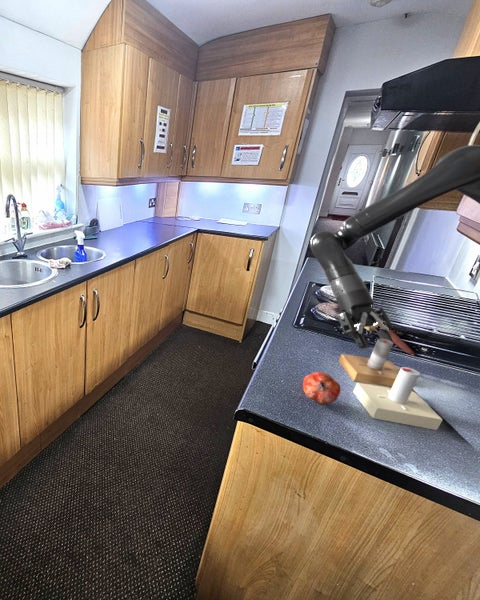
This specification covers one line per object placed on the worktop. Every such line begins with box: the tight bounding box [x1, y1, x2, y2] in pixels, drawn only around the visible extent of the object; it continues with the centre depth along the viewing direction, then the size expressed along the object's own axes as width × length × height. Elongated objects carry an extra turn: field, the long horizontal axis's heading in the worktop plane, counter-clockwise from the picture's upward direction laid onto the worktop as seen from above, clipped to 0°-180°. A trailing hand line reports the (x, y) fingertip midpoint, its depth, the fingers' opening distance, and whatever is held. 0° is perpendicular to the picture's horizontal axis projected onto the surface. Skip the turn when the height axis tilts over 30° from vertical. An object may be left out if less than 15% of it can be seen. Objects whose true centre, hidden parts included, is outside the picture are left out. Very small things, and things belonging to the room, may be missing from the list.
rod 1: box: [367, 337, 394, 370], centre depth 88 cm, size 3×3×8 cm
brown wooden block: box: [338, 353, 400, 388], centre depth 90 cm, size 12×10×3 cm
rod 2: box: [388, 366, 421, 404], centre depth 75 cm, size 3×3×8 cm
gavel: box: [363, 327, 415, 356], centre depth 106 cm, size 21×5×10 cm
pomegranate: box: [302, 371, 341, 405], centre depth 80 cm, size 7×7×10 cm
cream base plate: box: [353, 382, 444, 431], centre depth 77 cm, size 12×10×3 cm
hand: (377, 347), depth 89 cm, fingers open, 8 cm apart
